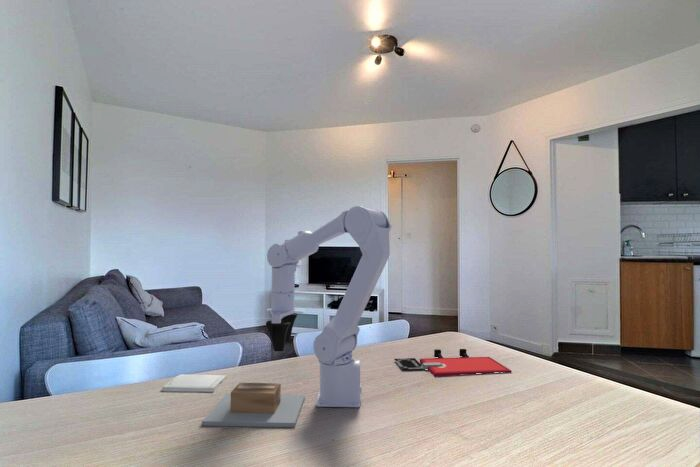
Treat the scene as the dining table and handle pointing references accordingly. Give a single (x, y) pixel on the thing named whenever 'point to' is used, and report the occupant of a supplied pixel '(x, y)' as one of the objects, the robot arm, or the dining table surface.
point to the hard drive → (195, 383)
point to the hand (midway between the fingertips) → (282, 346)
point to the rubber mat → (256, 414)
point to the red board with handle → (453, 364)
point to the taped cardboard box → (255, 398)
